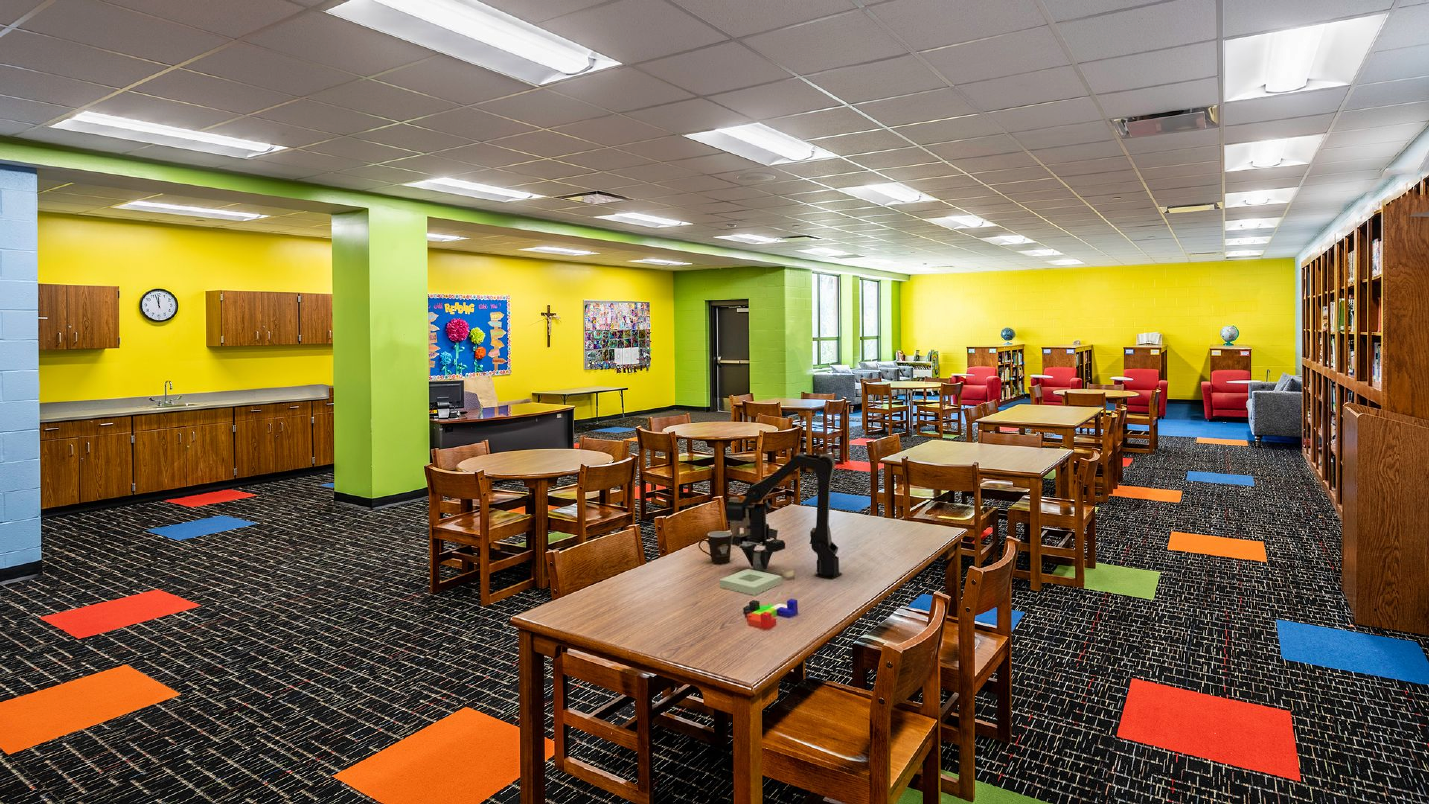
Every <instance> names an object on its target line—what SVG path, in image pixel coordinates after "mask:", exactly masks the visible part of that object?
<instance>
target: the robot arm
mask: <svg viewBox="0 0 1429 804" xmlns="http://www.w3.org/2000/svg"><path fill="white" fill-rule="evenodd" d="M835 466H836V458H834V456H833V455H831V454H830V453H823V454H821V455H819V454H805V453H801V452H800V453H796V454H795V455H794V456H793V457H792V458H791V459H790V460H789V461H788V462H786V463H785V464H783V465H782V466H780V468H779V469H776V471H774V472H773V473H772V474H771V475H769V476H768V477H766V478H764V479H762V480H759V481H758V482H755V483H754V484H752V485H751V486H750V487H749V488H748V489H747V490H746V497H745V498H744V499H742V501H740V500H739V501H729V500H728V501H727V504H726V512H725V519H726V521H727V522H730V521H745V519H747V518H748V512H749V525H747V529H749V534H744V532H742V533H741V532H740V534H738V535H735V536H733V538H732V544H733V546H738V545H740V544H741V546H739V549H741V550H742V552H743V554H744V555H745V557H746V559H747V561H748V563H749V564H750V567H752V568H753V551H755V549H756V546H761V547H764V549H760V550H761V556H762V562H763V567H764V569H765V570H767V569H768V567H769V563H770V560H771V557H772V555H773V553H777V552H779V551H782V550H785V549H786V542H785V541H784V540H783V539H777V538H778V531H779V530H778V529H774V528H771V527H770V524H769V523H767V512H766V511H767V510H770V509H771V508H772V504H770V503H769V502H768V500H765V502H763V503H761V502H762V501H763V499H765V498H766V497H767V496H768V494H769V493H771V491H772V490H773V489H774V488H775V487H776V486H777V485H778V484H780V483H781V482H782V481H783V480H785V479H786V478H787V477H789V476H790V475H791V474H792V473H793V472H795V471H796V470H797V469H799V468H804V469H808V470H813V471H815V475H816V479H817V498H816V499H817V500H816V501H817V504H816V521H815V522H816V523H815V527H812V528H811V530H810V531H809V533H810V534H809V535H810V541H809V545H810V546H811V550H812V551H813V552H814V553H816V555H817V560H816V573H815V574H814V576H816V577H820V578H825V579H829V580H833V579H835V578H838V577H839V576H841V575H842V574H843V572H840V560H839V559H840V557H839V556H837V554H838V551H839V547H838V546H837V545H836V543H834V542H833V541H832V534H831V528H830V524H829V523H830V501H831V483H832V482H831V481H832V480H833V479H832V478H833V474H834V472H835ZM752 504H754V505H752ZM732 544H731V545H732Z"/></svg>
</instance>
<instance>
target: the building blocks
mask: <svg viewBox="0 0 1429 804" xmlns="http://www.w3.org/2000/svg"><path fill="white" fill-rule="evenodd" d="M798 604H799V603H798V599H795V598H789V599H787V601H786V604H784V603H777V604H775V605H773V604H771V603H770V604H766V605H760V601H759V600H755V599H753V600H751V601H749V602H748V605H746V606H744V607H743V608H742V610H743V615H744V618H746V622H747V623H748V624H747V625H748V626H750V627H755V628H759V629H762V630H766V631H767V630H769V629H772V628H774V627H775V626H777V618H776V616H779V617H783V618H787V619H790V618H792V617H794V616H797V615H798V614H799V610H798V608H799V607H798Z"/></svg>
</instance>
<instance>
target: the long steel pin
mask: <svg viewBox="0 0 1429 804" xmlns="http://www.w3.org/2000/svg"><path fill="white" fill-rule="evenodd" d="M761 550H762V549H759V550H758V549H756V550H755V549H754V551H753V567H752V570H755V571H759V572H764V573H766V569H764V567H763V562H762V556H761Z"/></svg>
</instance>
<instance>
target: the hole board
mask: <svg viewBox="0 0 1429 804" xmlns="http://www.w3.org/2000/svg"><path fill="white" fill-rule="evenodd" d="M782 584H783V579H782V575H777V574H772V573H768V572H765V573H764V572H759V571H755V570H753V569H748V568H746V569H744V570H742V571H739V572H736V573H734V574H731V575H728V576H726V577H723V578H720V579H719V588H721V589H725V588H726V589H725V590H729V591H733V592H737V591H739V592H738V593H742V592H743V593H742V594H746V593H747V594H746V595H750V594H752V595H751V596H754V595H755V596H756V594H757V595H759V594H762V593H764V592H766V590H767V591H769V590H771V589H773V588H776V587H778V586H781V585H782ZM777 585H778V586H777ZM775 586H776V587H775ZM770 588H771V589H770ZM768 589H769V590H768ZM763 591H764V592H763ZM761 592H762V593H761Z"/></svg>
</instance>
